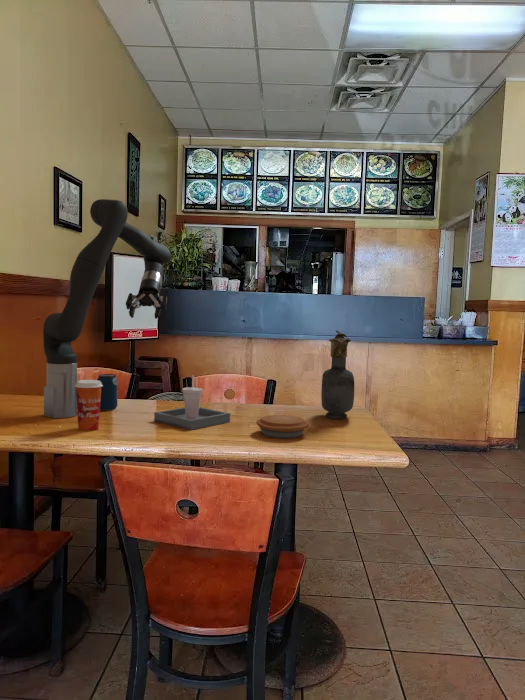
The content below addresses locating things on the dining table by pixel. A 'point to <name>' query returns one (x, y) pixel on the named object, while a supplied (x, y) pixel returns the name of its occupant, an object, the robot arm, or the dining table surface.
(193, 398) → the smoothie
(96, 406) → the paper cup
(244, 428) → the dining table surface
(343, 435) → the dining table surface
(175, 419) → the tray
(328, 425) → the dining table surface
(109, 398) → the soda can
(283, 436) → the pie
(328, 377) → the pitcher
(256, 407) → the dining table surface
